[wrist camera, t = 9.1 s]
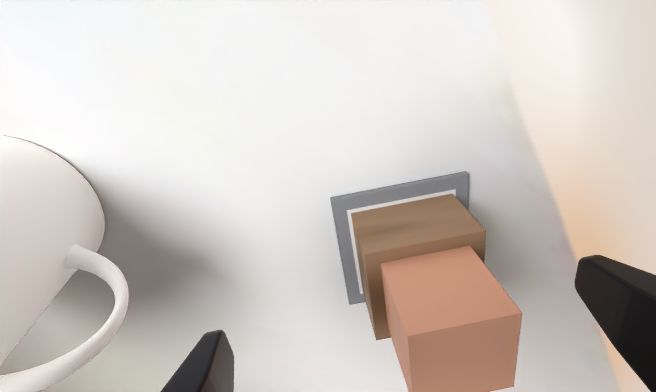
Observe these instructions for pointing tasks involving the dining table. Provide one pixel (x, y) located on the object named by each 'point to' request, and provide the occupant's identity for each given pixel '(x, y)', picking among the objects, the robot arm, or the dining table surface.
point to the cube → (451, 322)
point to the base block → (408, 242)
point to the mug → (47, 254)
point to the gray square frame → (382, 198)
